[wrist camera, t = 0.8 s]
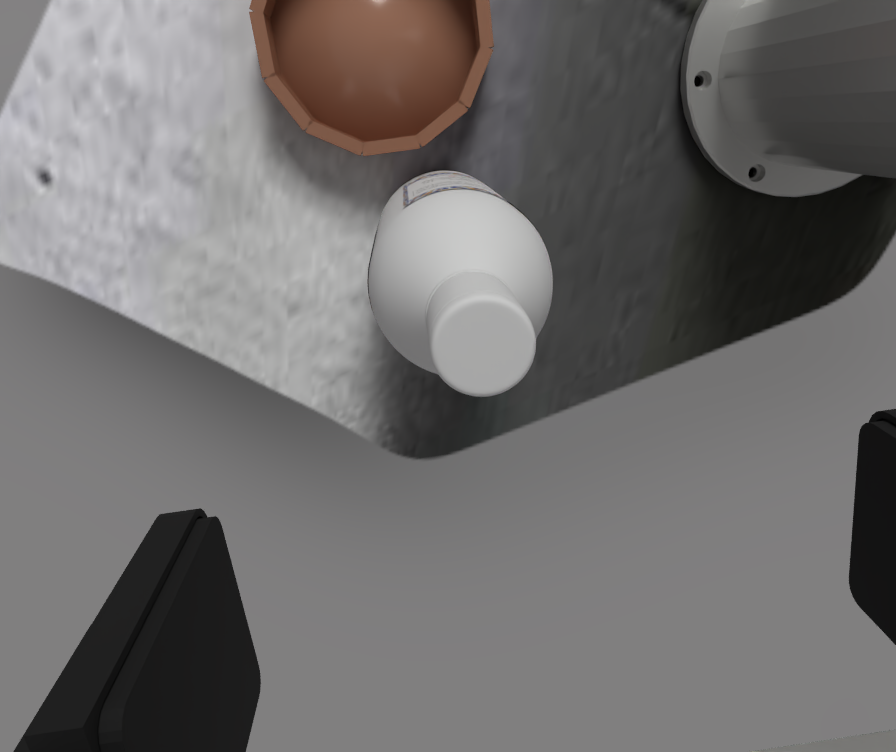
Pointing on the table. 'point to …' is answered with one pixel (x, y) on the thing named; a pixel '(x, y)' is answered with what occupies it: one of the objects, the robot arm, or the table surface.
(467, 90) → the ring dish
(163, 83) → the table surface
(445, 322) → the bath foam
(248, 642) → the robot arm
